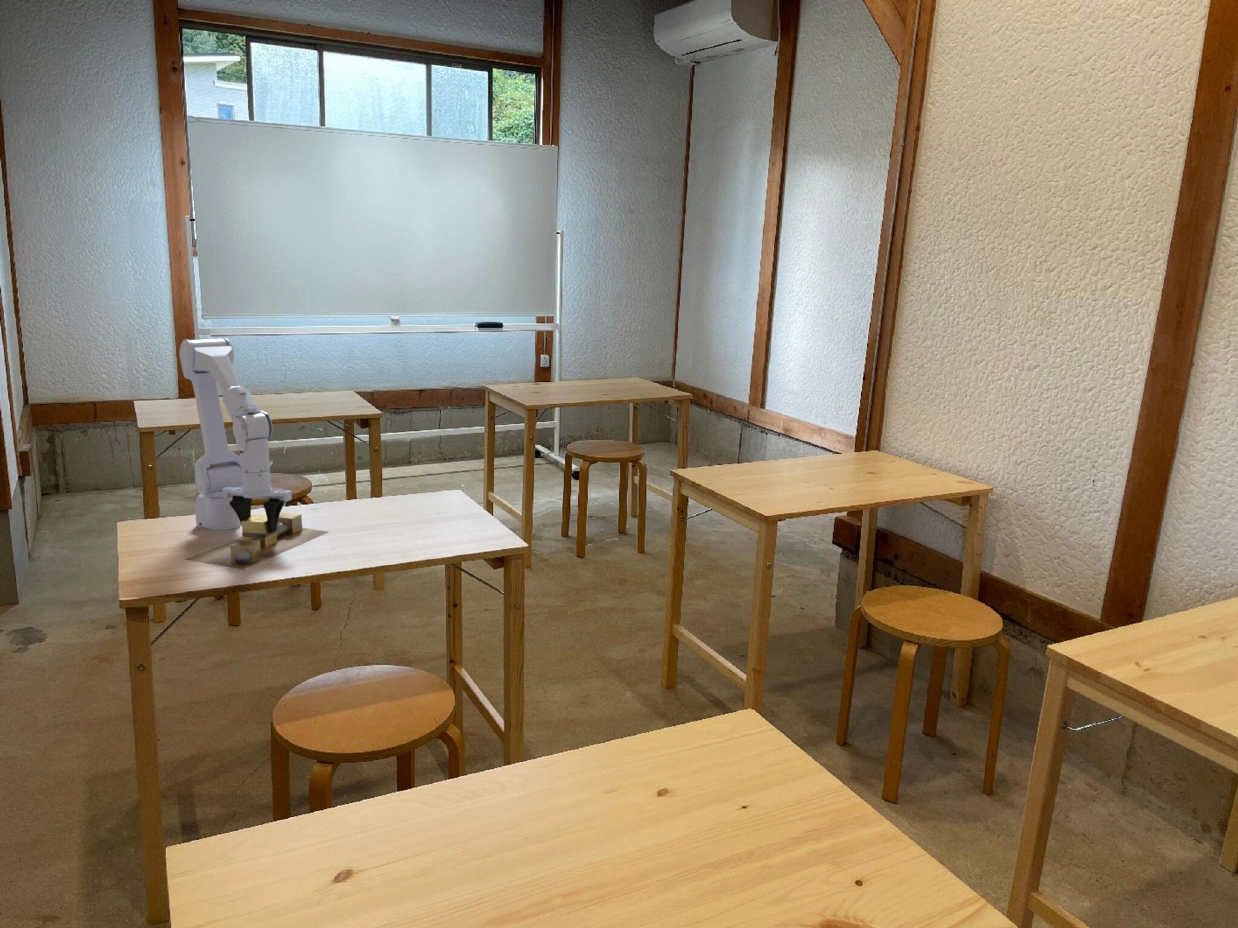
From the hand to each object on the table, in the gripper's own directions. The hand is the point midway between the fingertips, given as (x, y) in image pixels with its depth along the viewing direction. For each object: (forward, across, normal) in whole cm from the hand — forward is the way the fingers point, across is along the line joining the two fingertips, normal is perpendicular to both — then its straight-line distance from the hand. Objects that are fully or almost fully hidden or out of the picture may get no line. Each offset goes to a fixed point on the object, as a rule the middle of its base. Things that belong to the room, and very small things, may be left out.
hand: (259, 531), depth 191 cm
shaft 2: (+3, +1, +8) cm, 9 cm away
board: (+4, 0, 0) cm, 4 cm away
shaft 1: (+3, +2, -8) cm, 9 cm away
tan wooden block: (+3, 0, 0) cm, 3 cm away
